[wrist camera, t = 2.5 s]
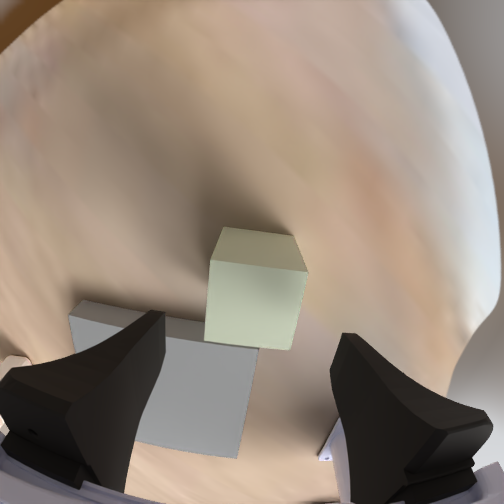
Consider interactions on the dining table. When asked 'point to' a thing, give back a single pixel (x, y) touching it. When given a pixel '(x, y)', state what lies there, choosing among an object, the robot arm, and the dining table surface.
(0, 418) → the pepper shaker
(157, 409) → the slate block
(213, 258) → the sage block
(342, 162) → the dining table surface
